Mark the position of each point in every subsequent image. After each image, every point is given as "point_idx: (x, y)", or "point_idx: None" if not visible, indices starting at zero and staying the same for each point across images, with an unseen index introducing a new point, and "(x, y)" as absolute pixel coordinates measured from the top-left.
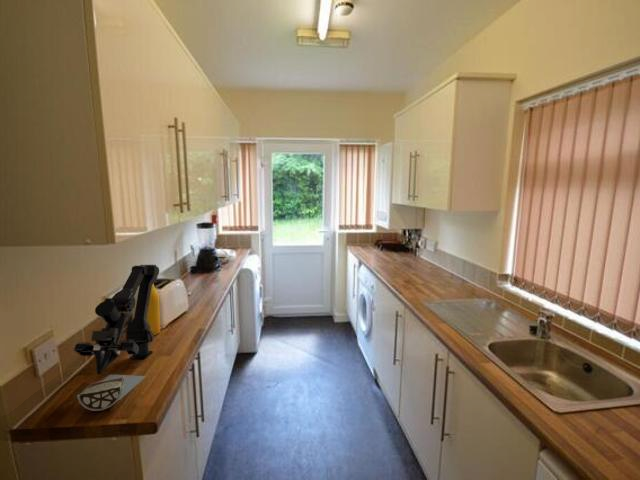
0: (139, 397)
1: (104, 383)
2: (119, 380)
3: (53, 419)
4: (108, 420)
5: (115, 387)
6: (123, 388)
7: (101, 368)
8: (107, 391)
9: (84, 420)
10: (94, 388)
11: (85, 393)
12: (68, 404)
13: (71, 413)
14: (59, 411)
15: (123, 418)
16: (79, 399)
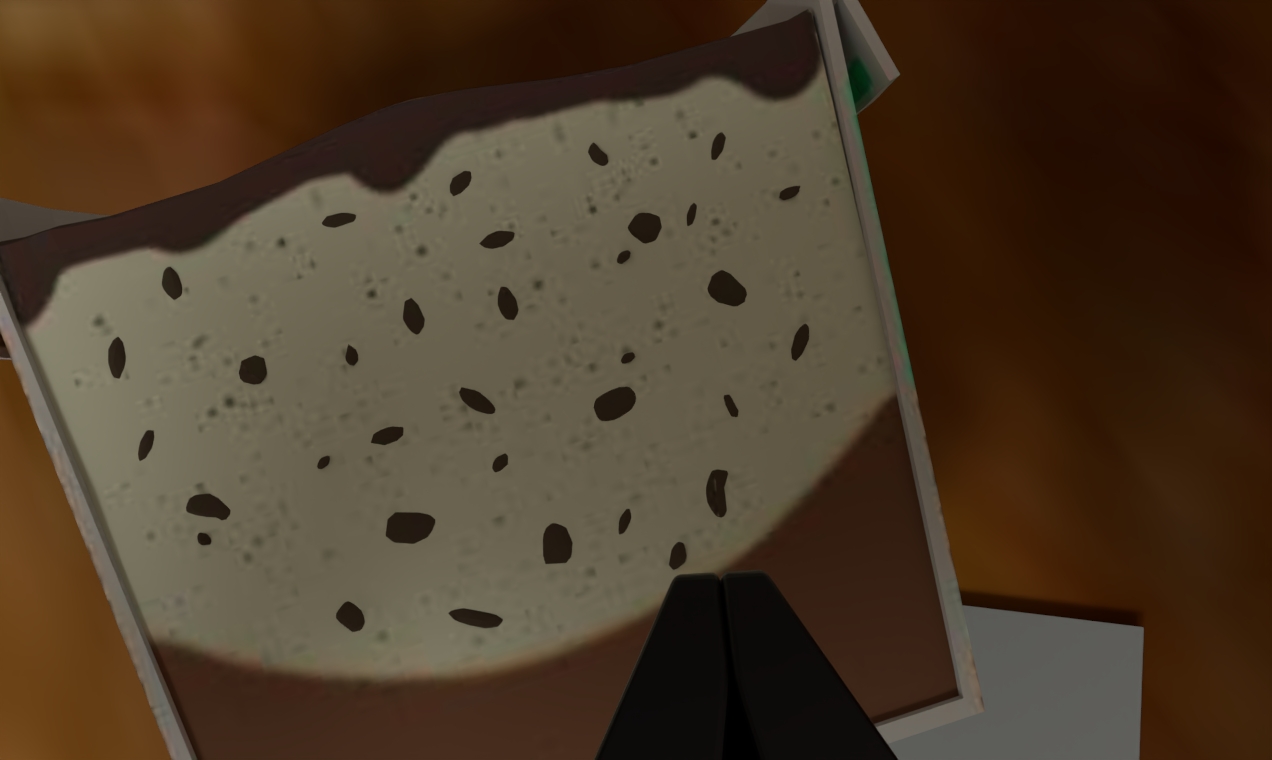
0: (30, 627)
1: (592, 609)
2: (256, 725)
3: (1108, 46)
4: (257, 23)
5: (124, 277)
6: (8, 357)
7: (650, 700)
8: (268, 165)
9: (611, 23)
10: (680, 339)
11: (731, 86)
12: (1183, 436)
13: (936, 187)
14: (1179, 241)
15: (61, 66)
16: (785, 10)
